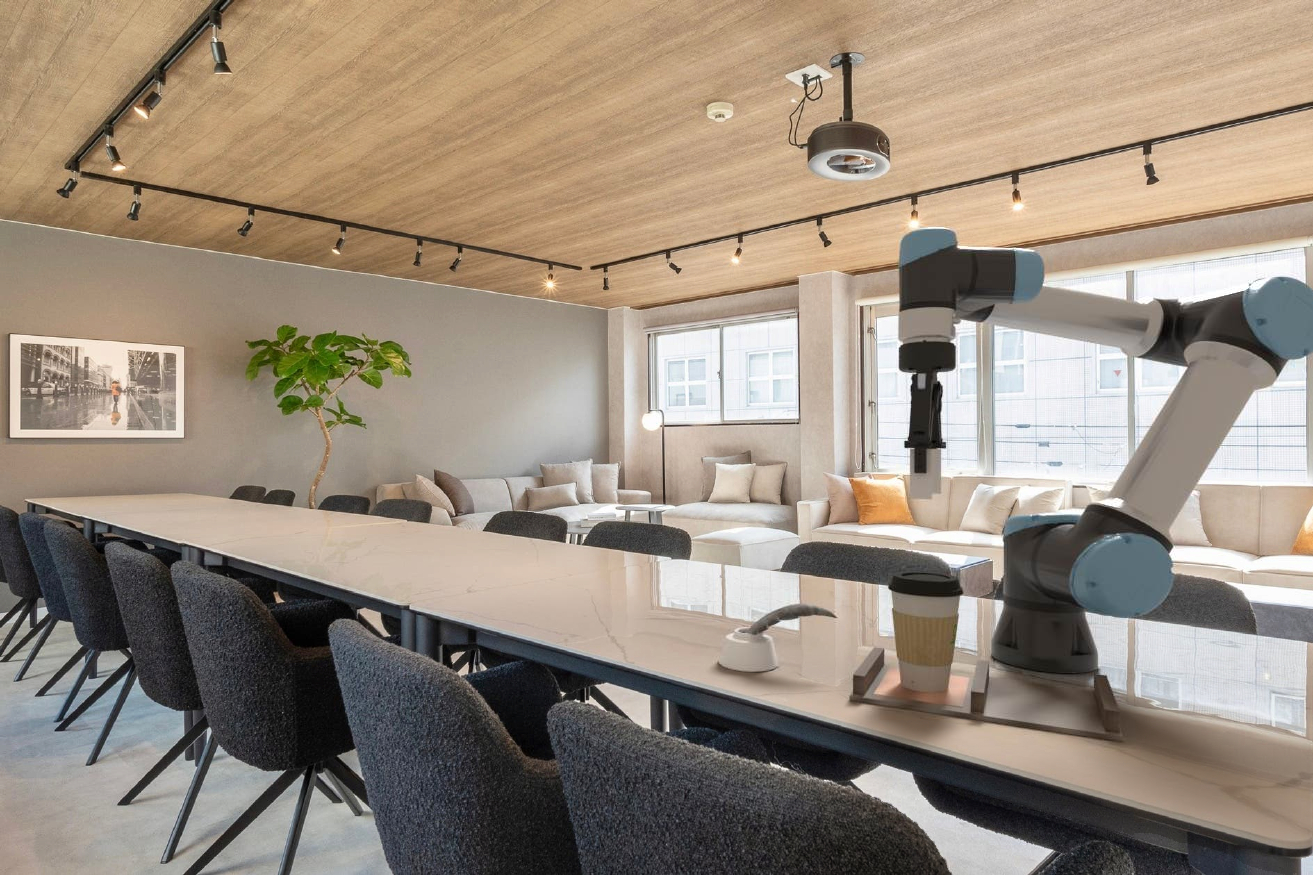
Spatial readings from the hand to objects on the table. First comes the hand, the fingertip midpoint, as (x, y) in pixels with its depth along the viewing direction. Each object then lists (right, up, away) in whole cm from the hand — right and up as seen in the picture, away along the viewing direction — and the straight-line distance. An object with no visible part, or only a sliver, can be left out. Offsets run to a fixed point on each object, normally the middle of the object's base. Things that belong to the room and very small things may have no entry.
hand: (926, 496), depth 107 cm
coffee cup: (-1, -26, -1) cm, 26 cm away
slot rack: (+6, -27, -4) cm, 28 cm away
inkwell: (-19, -27, +10) cm, 34 cm away
